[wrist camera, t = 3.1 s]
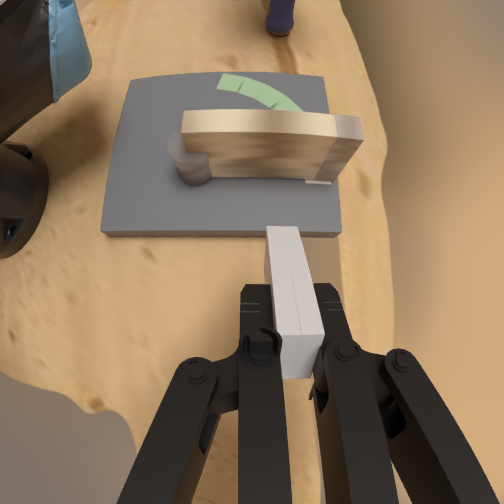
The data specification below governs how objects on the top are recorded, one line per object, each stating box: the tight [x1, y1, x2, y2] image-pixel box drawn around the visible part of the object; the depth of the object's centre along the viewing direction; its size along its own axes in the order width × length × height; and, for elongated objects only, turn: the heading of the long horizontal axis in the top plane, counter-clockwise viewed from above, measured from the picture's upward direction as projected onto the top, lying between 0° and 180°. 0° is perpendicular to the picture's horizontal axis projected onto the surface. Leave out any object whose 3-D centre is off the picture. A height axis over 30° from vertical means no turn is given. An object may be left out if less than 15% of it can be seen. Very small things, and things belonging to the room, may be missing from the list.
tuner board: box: [100, 72, 342, 238], centre depth 29 cm, size 23×19×2 cm
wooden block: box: [167, 109, 364, 185], centre depth 23 cm, size 15×4×8 cm, turn 90°
